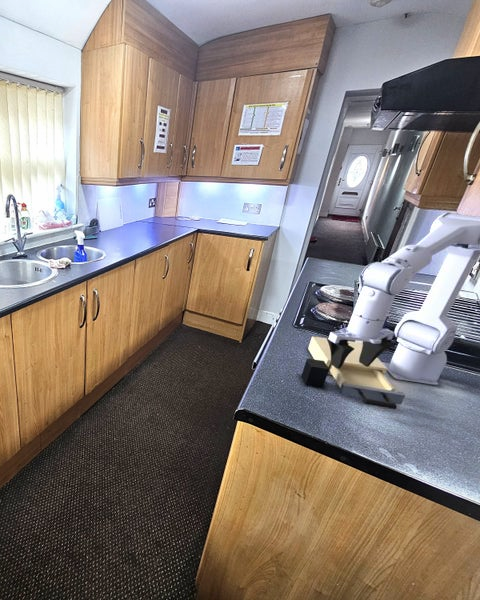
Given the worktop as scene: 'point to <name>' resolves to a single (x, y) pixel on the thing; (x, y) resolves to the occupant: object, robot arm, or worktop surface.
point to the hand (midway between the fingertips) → (349, 365)
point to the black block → (315, 373)
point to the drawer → (366, 386)
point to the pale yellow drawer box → (322, 352)
